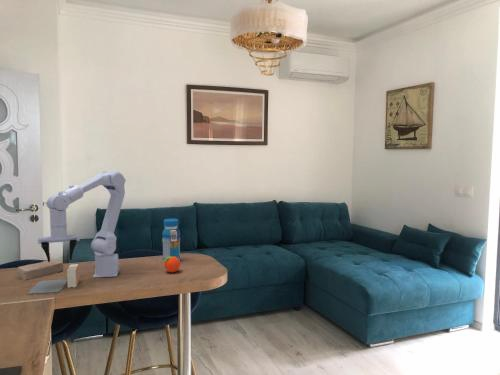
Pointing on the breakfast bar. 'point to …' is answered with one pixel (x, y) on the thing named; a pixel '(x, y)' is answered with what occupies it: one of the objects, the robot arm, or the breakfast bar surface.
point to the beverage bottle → (171, 239)
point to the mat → (48, 286)
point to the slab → (73, 275)
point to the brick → (39, 269)
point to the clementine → (171, 264)
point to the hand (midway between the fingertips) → (60, 260)
